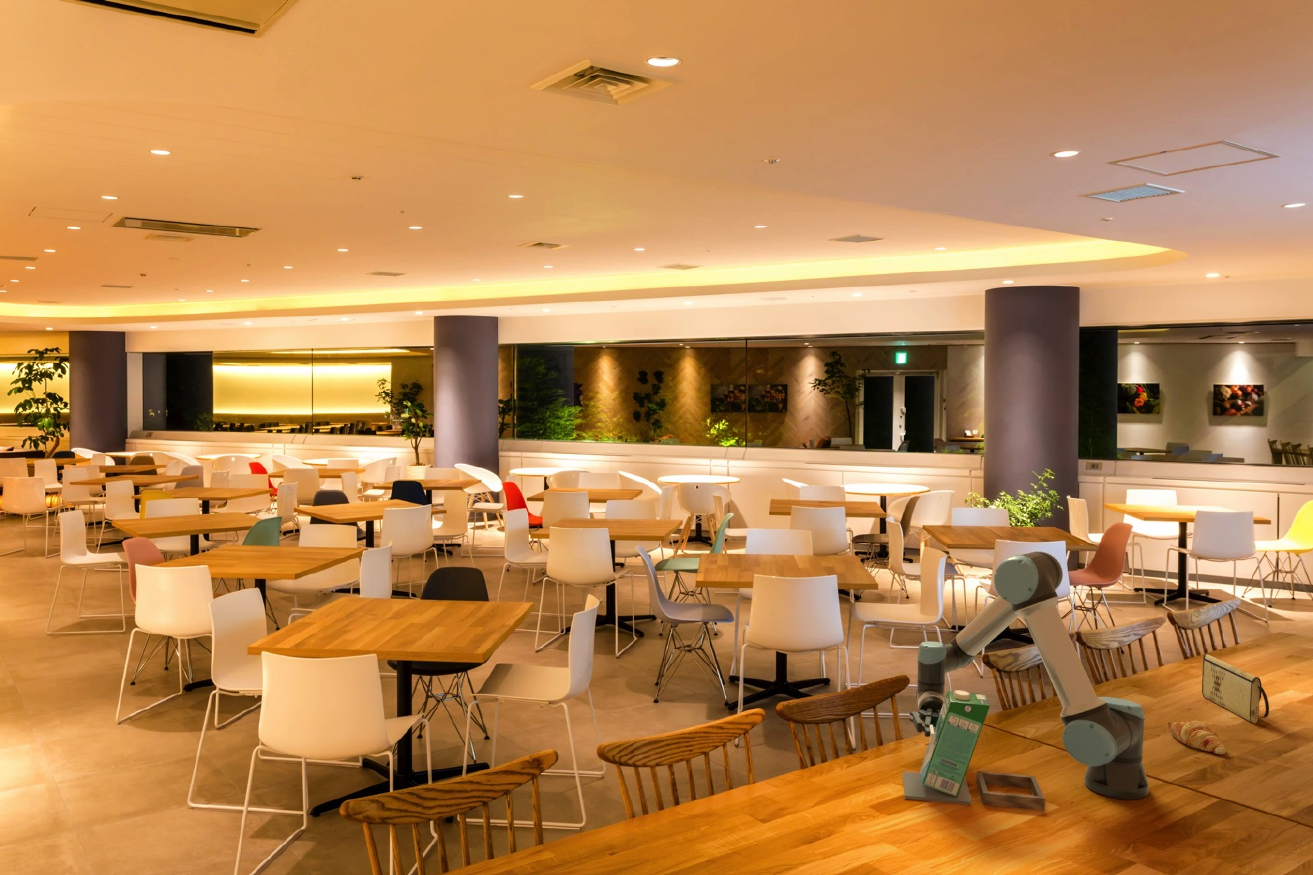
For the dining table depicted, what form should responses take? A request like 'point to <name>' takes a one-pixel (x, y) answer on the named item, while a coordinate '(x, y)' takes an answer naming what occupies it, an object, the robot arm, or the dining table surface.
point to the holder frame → (1010, 799)
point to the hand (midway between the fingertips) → (939, 739)
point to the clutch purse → (1232, 688)
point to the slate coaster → (932, 790)
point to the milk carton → (954, 741)
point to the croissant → (1197, 736)
